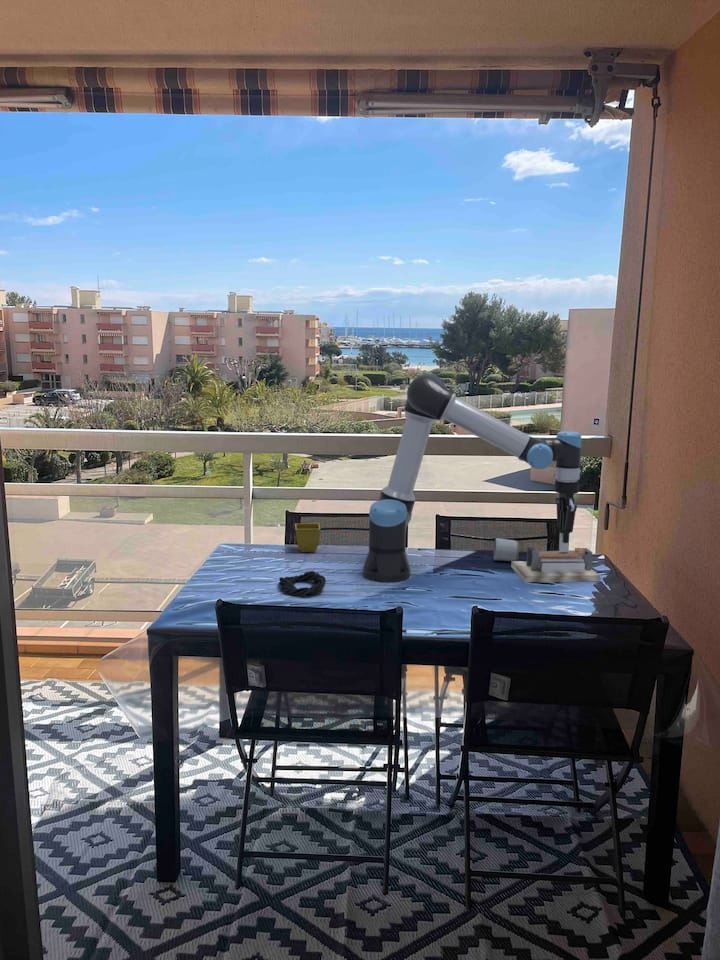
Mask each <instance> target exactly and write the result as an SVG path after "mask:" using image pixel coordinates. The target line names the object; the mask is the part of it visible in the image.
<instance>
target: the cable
mask: <svg viewBox="0 0 720 960" xmlns="http://www.w3.org/2000/svg"><path fill="white" fill-rule="evenodd" d="M326 579H327V578H326V577H325V576H324V575H322V574H320V573H319V572H316V571H314V570H311V571H306V572H303V574H302V573H299V574H297V575H295V576H294V575H293V576H285V577H279V582H278V586H279V589H280V592H285V593H286V594H287V595H288V594H289V595H292V596H296V597H300V598H303V597H311V596H312V597H313V596H316V595H318V594H319V593H320V592H321V591H322V590H323V589H324V587H325V585H326V582H327V580H326ZM310 581H312V582H313V584H312V586H310V587H300V588H297V587H296V585H295V584H294V583H299V582H310Z"/></svg>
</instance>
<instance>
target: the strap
mask: <svg viewBox="0 0 720 960" xmlns="http://www.w3.org/2000/svg"><path fill="white" fill-rule="evenodd" d="M538 551H539V550H538ZM584 553H585V551H584V550H583V549H582V547H574V549H573V550H572V549H570V550H569V552H559V550H542V551H541V550H540V551H539V557H571V556H580V557H581V556H584ZM530 554H531V555H532V551H531V552H530Z"/></svg>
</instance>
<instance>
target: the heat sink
mask: <svg viewBox="0 0 720 960" xmlns="http://www.w3.org/2000/svg"><path fill="white" fill-rule="evenodd" d="M581 548H582V547H581ZM582 549H583V550H584V551H585V553H584V556H571V557H539V550H535V546H532V545H531V546H527V548H526V560H525V561H526V566H531V571H538V570H539V571H540V572H541V573H584V571H585V570H591V569H592V563H593V552H592V551H591V550H590V549H589V548H587V547H586V548H585V547H583V548H582ZM531 551H532V555H531V554H530V552H531Z"/></svg>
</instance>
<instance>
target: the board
mask: <svg viewBox="0 0 720 960" xmlns="http://www.w3.org/2000/svg"><path fill="white" fill-rule="evenodd" d="M510 562H511V566H510V567H511V568H512V569H513V570H514V572H515V571H516V572H515V573H516V574H517V575H518V576H519V577H520V578H521V580H523V581H524V582H525V583H558V582H559V583H564V582H565V583H567V582H568V583H569V582H572V583H573V582H576V583H577V582H581V583H583V582H586V583H587V581H588V582H589V581H598V582H600V578H601V575H600V574H599V573H598V572H596V571H595V570H594V569H592V568H591V570H585V571H584V573H541V572H540V571H539V570H538V571H531V566H526V560H525V561H524V560H522V561H521V560H517V561H510ZM545 581H546V582H545Z"/></svg>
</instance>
